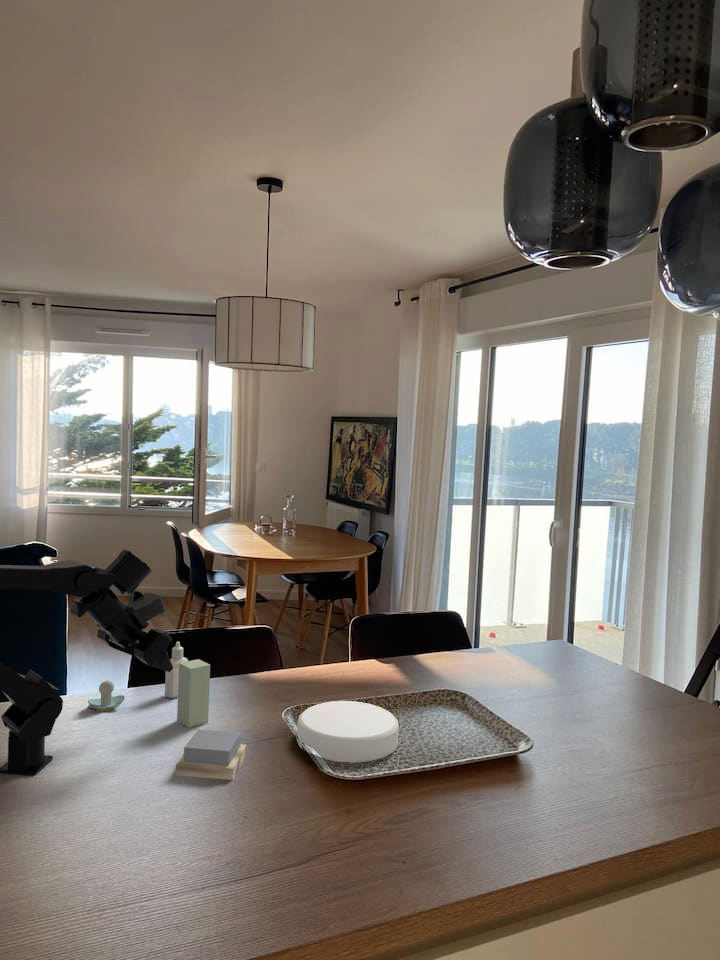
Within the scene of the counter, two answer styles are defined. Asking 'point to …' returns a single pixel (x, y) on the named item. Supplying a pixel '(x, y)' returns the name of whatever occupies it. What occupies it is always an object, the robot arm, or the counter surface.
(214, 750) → the tower middle
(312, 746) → the container
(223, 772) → the tower base
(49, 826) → the counter surface
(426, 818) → the counter surface
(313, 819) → the counter surface
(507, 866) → the counter surface
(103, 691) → the pacifier
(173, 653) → the eye dropper bottle
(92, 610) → the robot arm
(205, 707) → the pillar block
